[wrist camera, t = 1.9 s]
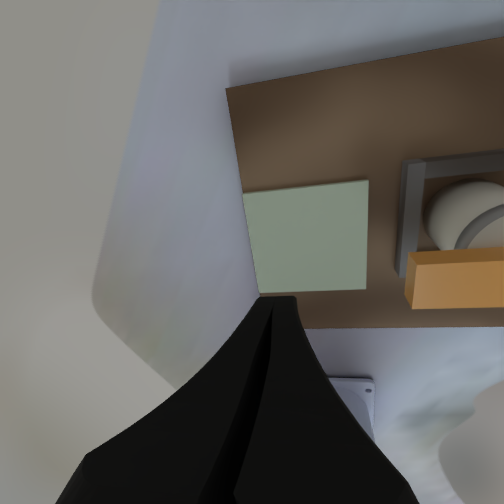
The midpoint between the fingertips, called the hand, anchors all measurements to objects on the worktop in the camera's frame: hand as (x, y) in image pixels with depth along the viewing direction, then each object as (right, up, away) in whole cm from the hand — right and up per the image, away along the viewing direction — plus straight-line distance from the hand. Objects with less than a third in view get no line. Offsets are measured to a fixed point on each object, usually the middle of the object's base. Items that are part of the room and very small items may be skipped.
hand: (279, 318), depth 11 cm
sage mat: (+2, +3, +8) cm, 9 cm away
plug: (+11, +4, +5) cm, 13 cm away
